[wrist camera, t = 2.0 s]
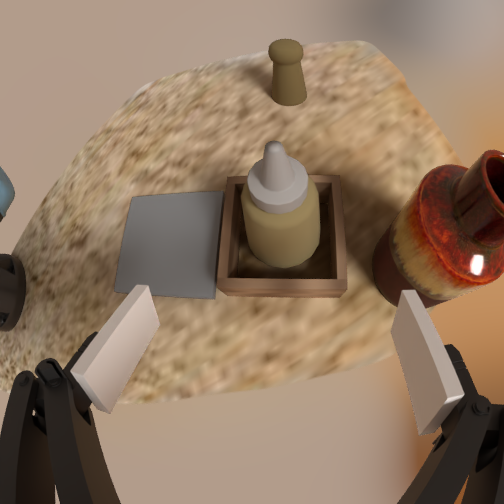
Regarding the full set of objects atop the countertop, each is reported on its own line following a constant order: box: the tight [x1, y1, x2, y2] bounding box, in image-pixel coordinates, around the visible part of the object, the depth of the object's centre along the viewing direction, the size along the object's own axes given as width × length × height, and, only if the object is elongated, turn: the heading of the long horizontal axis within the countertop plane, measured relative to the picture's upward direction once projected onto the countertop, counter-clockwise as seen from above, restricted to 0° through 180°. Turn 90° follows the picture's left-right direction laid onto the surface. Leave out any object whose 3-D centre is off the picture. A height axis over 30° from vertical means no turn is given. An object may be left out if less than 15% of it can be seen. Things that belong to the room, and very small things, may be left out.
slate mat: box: [114, 191, 225, 299], centre depth 36 cm, size 14×14×1 cm
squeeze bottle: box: [241, 141, 320, 268], centre depth 26 cm, size 8×8×18 cm
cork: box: [268, 39, 307, 106], centre depth 37 cm, size 6×6×11 cm
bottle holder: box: [217, 175, 347, 298], centre depth 32 cm, size 13×13×5 cm
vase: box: [372, 150, 504, 309], centre depth 21 cm, size 11×11×20 cm
